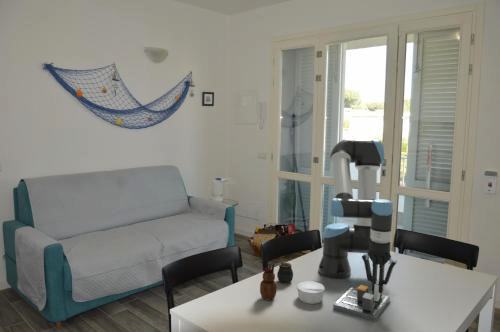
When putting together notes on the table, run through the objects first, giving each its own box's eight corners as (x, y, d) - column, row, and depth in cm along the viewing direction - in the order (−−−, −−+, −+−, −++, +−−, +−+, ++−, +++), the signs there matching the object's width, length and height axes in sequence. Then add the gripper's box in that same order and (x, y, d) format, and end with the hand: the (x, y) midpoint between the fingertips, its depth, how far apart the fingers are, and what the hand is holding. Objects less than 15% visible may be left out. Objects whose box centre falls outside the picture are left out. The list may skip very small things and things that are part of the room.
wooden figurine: (278, 296, 161) (279, 261, 159) (274, 302, 155) (275, 266, 154) (262, 294, 163) (263, 259, 161) (258, 300, 158) (258, 264, 156)
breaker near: (362, 308, 147) (362, 295, 146) (365, 305, 150) (365, 292, 149) (370, 310, 145) (370, 298, 144) (373, 307, 148) (373, 294, 147)
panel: (333, 309, 151) (333, 303, 151) (351, 291, 167) (351, 286, 167) (374, 321, 142) (375, 315, 142) (389, 301, 159) (389, 296, 158)
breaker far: (371, 297, 157) (372, 285, 156) (374, 294, 160) (375, 282, 159) (379, 299, 155) (380, 287, 154) (382, 295, 158) (382, 284, 157)
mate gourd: (285, 286, 171) (285, 264, 170) (273, 281, 177) (273, 259, 176) (296, 282, 176) (296, 260, 175) (284, 277, 182) (284, 256, 181)
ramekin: (307, 307, 152) (307, 294, 152) (291, 296, 162) (291, 283, 161) (330, 302, 157) (330, 289, 157) (313, 291, 167) (313, 279, 167)
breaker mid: (357, 299, 154) (357, 287, 153) (360, 296, 157) (360, 284, 156) (364, 302, 152) (365, 289, 152) (367, 298, 155) (368, 286, 155)
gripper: (360, 239, 149) (356, 298, 152) (395, 246, 142) (391, 308, 145) (366, 235, 155) (363, 291, 158) (400, 241, 148) (396, 300, 151)
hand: (376, 299), depth 151 cm, fingers closed
